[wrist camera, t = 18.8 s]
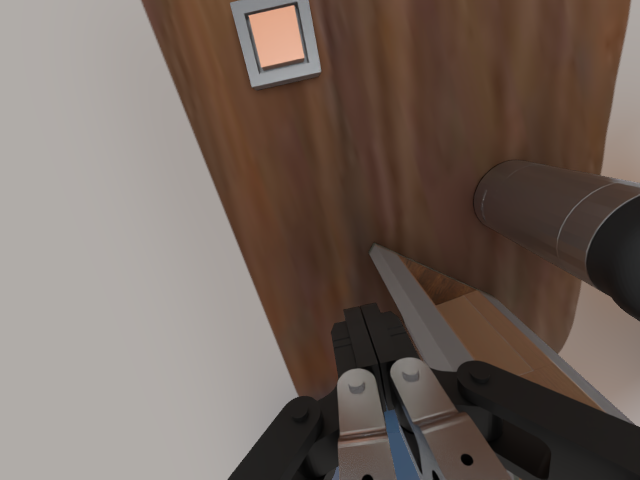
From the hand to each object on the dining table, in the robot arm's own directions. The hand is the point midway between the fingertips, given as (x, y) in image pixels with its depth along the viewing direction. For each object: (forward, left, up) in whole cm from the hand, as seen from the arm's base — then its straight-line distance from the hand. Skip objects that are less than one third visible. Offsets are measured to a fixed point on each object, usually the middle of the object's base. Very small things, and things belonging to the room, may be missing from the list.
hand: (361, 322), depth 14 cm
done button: (+1, -16, -25) cm, 30 cm away
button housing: (+1, -16, -27) cm, 31 cm away
